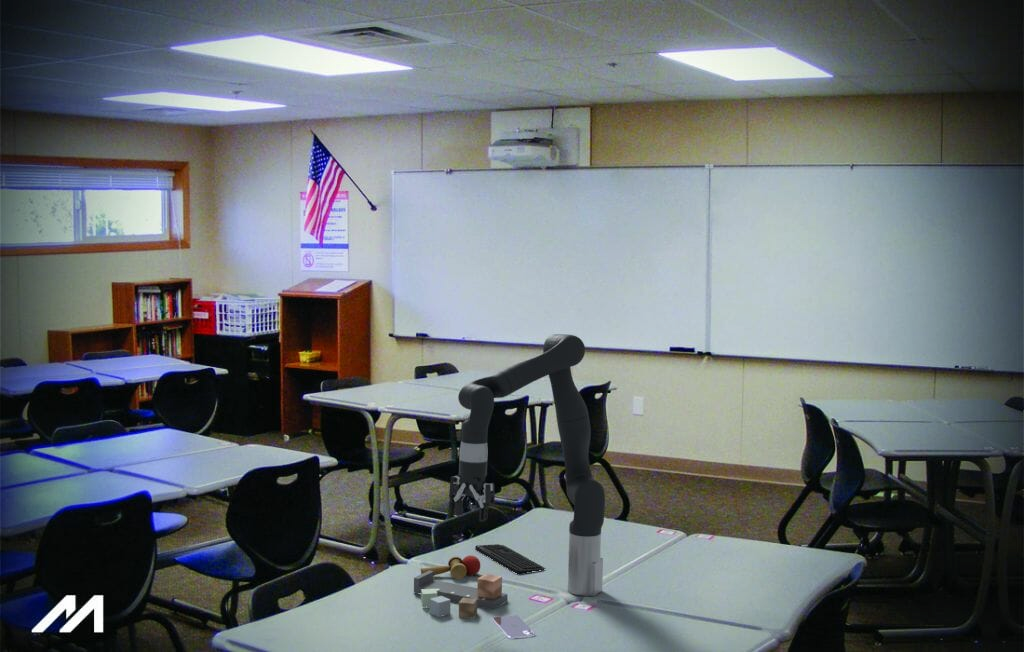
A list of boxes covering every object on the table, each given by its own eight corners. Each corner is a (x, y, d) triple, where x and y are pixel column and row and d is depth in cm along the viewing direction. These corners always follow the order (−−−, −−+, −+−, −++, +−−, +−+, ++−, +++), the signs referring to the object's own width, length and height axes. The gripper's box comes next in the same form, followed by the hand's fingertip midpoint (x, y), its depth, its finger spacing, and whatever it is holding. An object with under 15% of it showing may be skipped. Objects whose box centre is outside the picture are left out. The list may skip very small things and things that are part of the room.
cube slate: (450, 614, 267) (450, 599, 266) (438, 617, 264) (438, 602, 264) (441, 610, 270) (441, 595, 269) (429, 613, 267) (429, 598, 267)
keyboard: (548, 571, 307) (548, 565, 306) (517, 576, 301) (517, 570, 301) (503, 547, 333) (503, 541, 333) (474, 550, 328) (474, 545, 327)
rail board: (507, 601, 278) (507, 585, 277) (493, 609, 271) (493, 593, 270) (428, 585, 290) (429, 570, 289) (413, 593, 283) (414, 577, 282)
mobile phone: (518, 614, 266) (537, 634, 252) (518, 617, 266) (537, 637, 252) (491, 616, 263) (509, 637, 249) (491, 620, 263) (509, 640, 249)
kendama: (425, 587, 293) (484, 575, 297) (421, 565, 293) (480, 554, 297) (421, 583, 300) (479, 572, 304) (418, 562, 301) (476, 551, 305)
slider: (501, 594, 277) (502, 576, 276) (493, 599, 272) (493, 581, 272) (486, 591, 279) (486, 573, 279) (477, 596, 275) (477, 578, 274)
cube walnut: (477, 613, 268) (477, 598, 267) (473, 618, 264) (473, 603, 264) (462, 611, 269) (462, 597, 268) (458, 616, 265) (458, 602, 264)
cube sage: (435, 602, 276) (435, 588, 275) (437, 607, 272) (437, 593, 271) (420, 603, 275) (421, 589, 274) (422, 608, 271) (422, 594, 271)
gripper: (502, 461, 265) (499, 521, 266) (462, 453, 274) (460, 511, 274) (484, 464, 259) (481, 525, 260) (444, 456, 268) (441, 515, 269)
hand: (470, 518), depth 267 cm, fingers open, 8 cm apart
